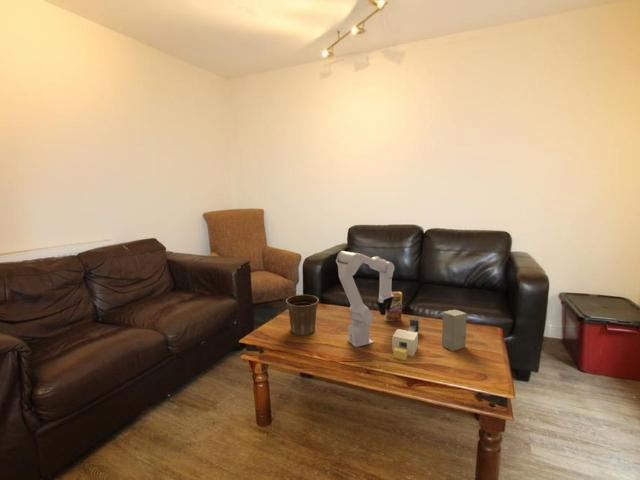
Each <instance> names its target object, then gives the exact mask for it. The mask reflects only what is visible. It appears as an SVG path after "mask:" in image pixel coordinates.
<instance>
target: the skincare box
mask: <svg viewBox="0 0 640 480" xmlns="http://www.w3.org/2000/svg"><path fill="white" fill-rule="evenodd" d="M467 314H468V313H467V312H464V311H461V310H458V309H452V310H450V309H449V310H446V311H443V312H442V325H441V327H442V329H441V330H442V333H441V334H442V336H441V345H442V347H444V348H447V349H449V350H450V351H452V352H455V351H458V350H460V349H464V348H466V341H467V340H466V339H467V337H466V336H467Z"/></svg>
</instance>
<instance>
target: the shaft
mask: <svg viewBox="0 0 640 480" xmlns="http://www.w3.org/2000/svg"><path fill="white" fill-rule="evenodd" d="M420 322H421V319H420V318H417V317H410V319H409V327H408V328H407V331H411V332H416V333H419V332H420ZM402 345H404V346H407V343H404V342H402Z"/></svg>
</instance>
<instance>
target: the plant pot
mask: <svg viewBox="0 0 640 480" xmlns="http://www.w3.org/2000/svg"><path fill="white" fill-rule="evenodd" d="M319 301H320V300H319V298H318V297H317V296H315V295H311V294H297V295H292V296H289V297H288V298H286V299H285V302H286V305H287V311H288V316H289V325H290V331H291V333H292V334H295V335H296V336H308V335H311V334H313V333H314V332H315V331H316V322H317V319H316V318H317V309H318V305H319Z"/></svg>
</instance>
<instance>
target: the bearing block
mask: <svg viewBox="0 0 640 480" xmlns="http://www.w3.org/2000/svg"><path fill="white" fill-rule="evenodd" d="M418 340H419V332H411V331H408V330H405V329H399V328H397V329H396V330H395V332H394V334H393V335H392V344H391V345H392V347H391V348H392V350H391V351H392V352H393V353H394V349H395V347H399V348H404V349H408V352H407V356H412V357H414V356H415V354H416V352H417V349H418V346H419V345H418V344H419V343H418V342H419V341H418ZM402 342H404V343H407V346H404V345H402Z"/></svg>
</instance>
